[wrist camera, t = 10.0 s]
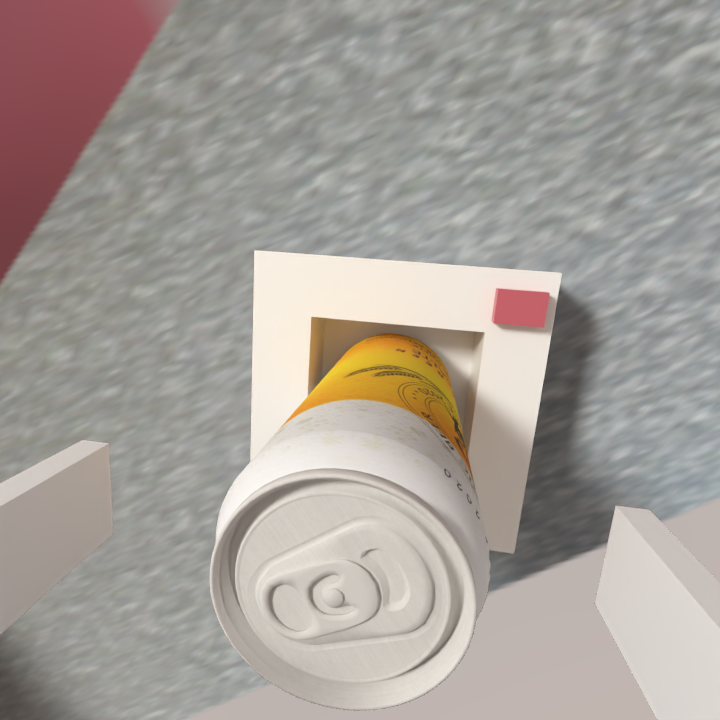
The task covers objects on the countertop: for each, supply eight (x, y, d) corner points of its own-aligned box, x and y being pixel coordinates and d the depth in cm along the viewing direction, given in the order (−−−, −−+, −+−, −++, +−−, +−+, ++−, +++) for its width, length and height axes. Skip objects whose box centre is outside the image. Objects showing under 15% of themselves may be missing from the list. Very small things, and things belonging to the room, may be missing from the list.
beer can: (468, 420, 23) (546, 692, 8) (361, 458, 24) (269, 751, 10) (424, 312, 22) (425, 407, 8) (315, 357, 23) (138, 512, 9)
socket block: (272, 481, 26) (245, 521, 22) (279, 252, 23) (249, 250, 19) (501, 513, 24) (516, 562, 20) (539, 271, 21) (566, 273, 17)
